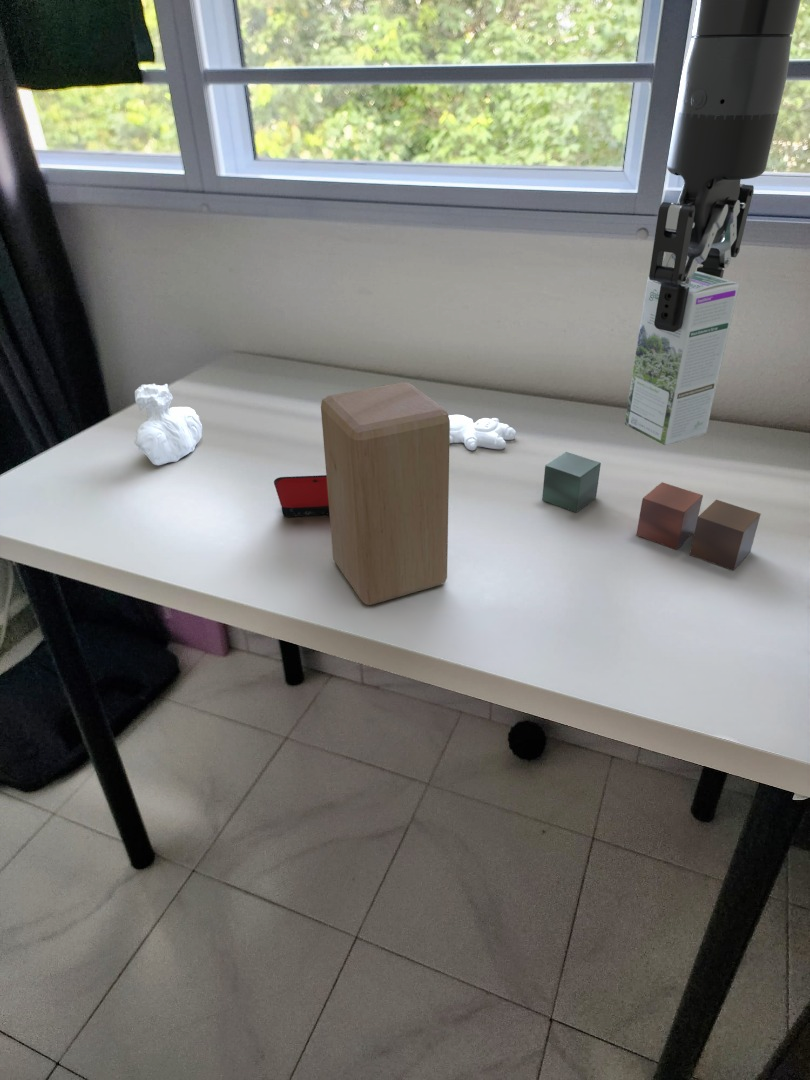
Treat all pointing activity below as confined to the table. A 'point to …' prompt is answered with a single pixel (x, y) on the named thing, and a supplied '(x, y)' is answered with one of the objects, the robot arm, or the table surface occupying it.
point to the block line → (661, 512)
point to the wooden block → (387, 489)
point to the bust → (165, 426)
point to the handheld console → (303, 495)
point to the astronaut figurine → (479, 432)
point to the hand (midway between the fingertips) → (685, 318)
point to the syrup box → (680, 362)
